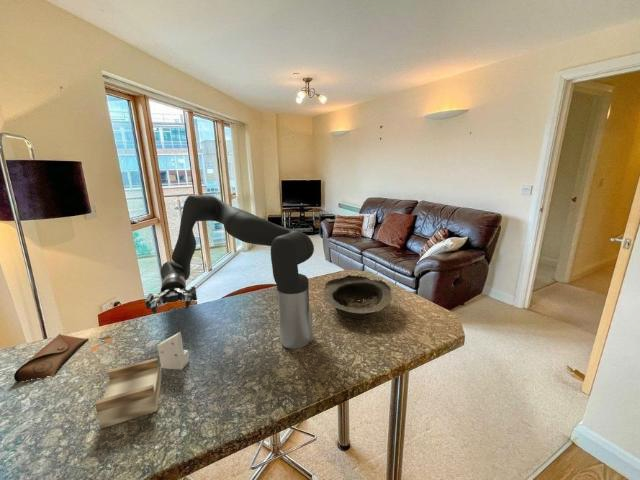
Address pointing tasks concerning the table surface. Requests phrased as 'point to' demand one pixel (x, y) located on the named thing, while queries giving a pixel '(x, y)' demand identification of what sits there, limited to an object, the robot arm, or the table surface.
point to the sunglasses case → (49, 358)
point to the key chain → (104, 339)
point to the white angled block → (173, 353)
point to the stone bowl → (357, 296)
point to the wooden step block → (130, 393)
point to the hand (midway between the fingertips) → (171, 307)
